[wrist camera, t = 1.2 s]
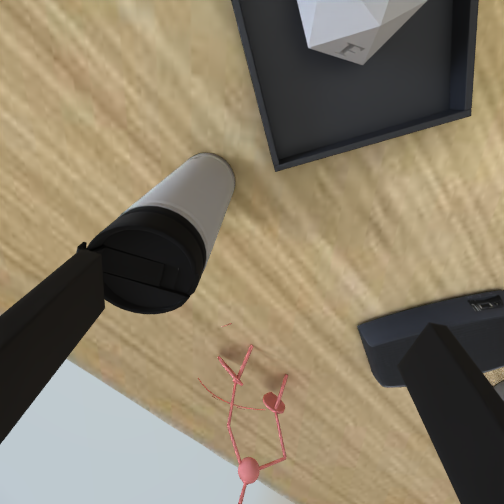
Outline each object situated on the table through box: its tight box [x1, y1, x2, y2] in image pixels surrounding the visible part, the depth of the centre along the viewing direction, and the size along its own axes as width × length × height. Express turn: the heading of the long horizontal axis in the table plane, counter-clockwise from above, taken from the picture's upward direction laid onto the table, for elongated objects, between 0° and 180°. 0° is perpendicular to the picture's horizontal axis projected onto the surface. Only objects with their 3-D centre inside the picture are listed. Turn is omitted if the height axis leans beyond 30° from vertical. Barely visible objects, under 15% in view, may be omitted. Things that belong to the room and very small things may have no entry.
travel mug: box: [77, 153, 235, 314], centre depth 24 cm, size 6×7×20 cm
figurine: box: [198, 323, 288, 504], centre depth 34 cm, size 15×26×35 cm, turn 42°
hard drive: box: [357, 290, 504, 387], centre depth 40 cm, size 13×19×4 cm
